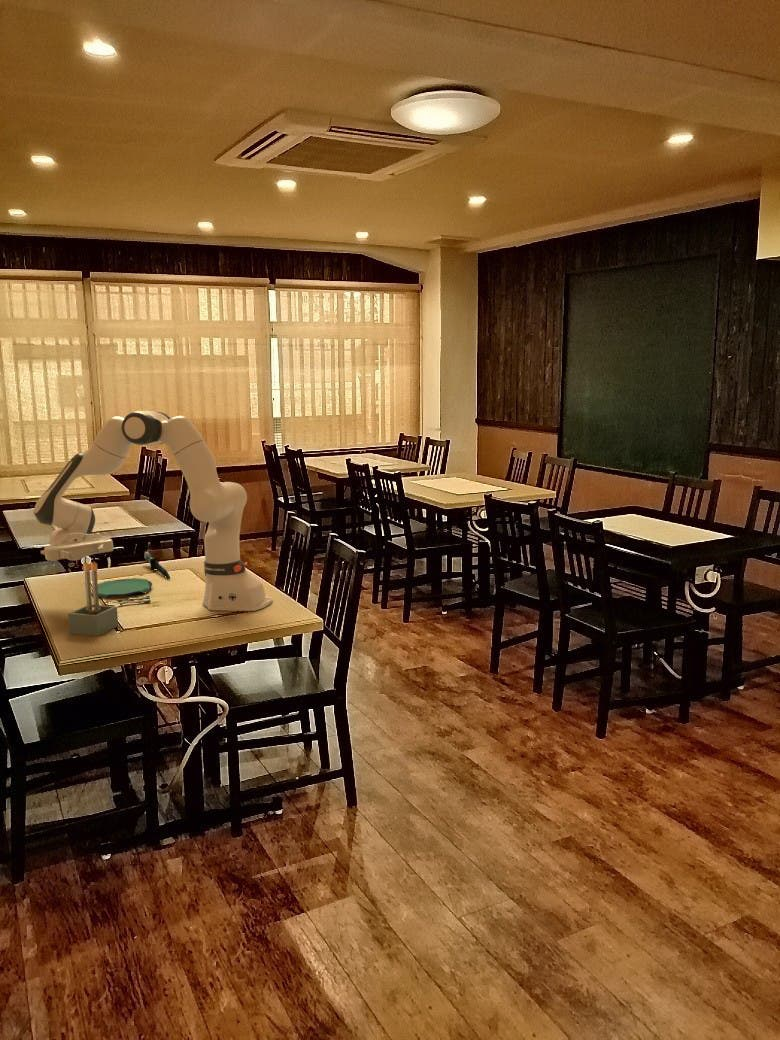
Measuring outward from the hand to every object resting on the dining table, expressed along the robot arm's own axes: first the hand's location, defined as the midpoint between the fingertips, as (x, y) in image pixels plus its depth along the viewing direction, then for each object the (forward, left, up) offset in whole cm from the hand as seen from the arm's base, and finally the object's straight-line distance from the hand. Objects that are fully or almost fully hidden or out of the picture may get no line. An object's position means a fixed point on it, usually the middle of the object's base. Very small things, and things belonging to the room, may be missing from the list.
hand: (85, 552), depth 244 cm
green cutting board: (+6, -24, -21) cm, 33 cm away
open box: (-9, +10, -20) cm, 25 cm away
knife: (+12, -55, -21) cm, 60 cm away
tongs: (-9, +10, -19) cm, 24 cm away
